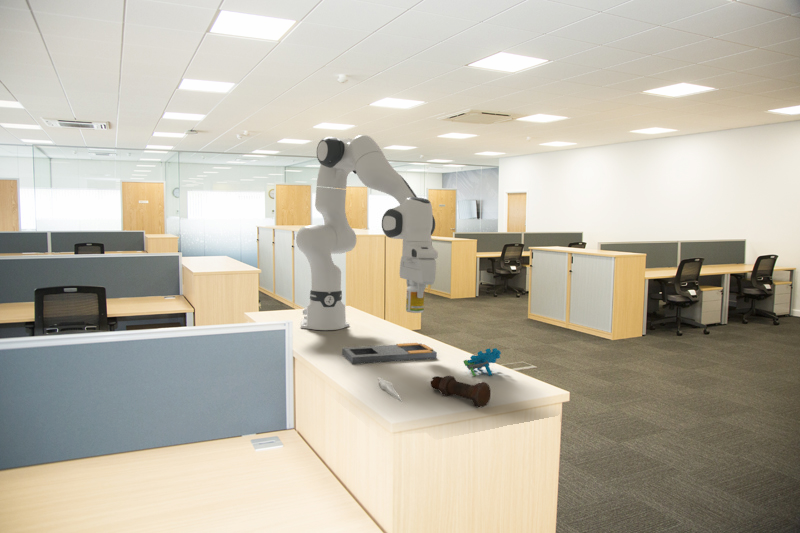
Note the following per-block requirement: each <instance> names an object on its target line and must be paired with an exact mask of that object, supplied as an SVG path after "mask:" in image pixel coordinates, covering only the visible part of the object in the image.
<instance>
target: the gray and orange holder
mask: <svg viewBox="0 0 800 533" xmlns="http://www.w3.org/2000/svg"><path fill="white" fill-rule="evenodd" d="M341 350H342V351H341V355H342V356H343V357H344V358H346V360H347V361H349V362H350V364H352V365H361V364H377V363H379V364H380V363H391V362H392V363H394V362H396V363H397V362H408V361H409V362H411V361H422V360H424V361H425V360H436V359H437V358H438V357H437V356H438V354H437V351H435V350H434V349H433V348H432V347H430V346H428V345H426V344H423V343H418V342H407V343H396V344H389V345H388V344H387V345H370V346H369V345H368V346H366V345H365V346H350V347H349V346H348V347H342V349H341Z"/></svg>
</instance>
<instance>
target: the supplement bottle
mask: <svg viewBox="0 0 800 533" xmlns="http://www.w3.org/2000/svg"><path fill="white" fill-rule="evenodd" d="M409 285H410V286H409V287H408V288H407V287H406V300H405V301H406V303H405V311H406V312H407V313H413V314H420V313H423V312H424V311H425V310H424V308H425V306H424V304H425V303H424V302H425V292H424V293H423V298H417V297H416V292H417V290H418V286H417V283H416V282H413V281H412V280H409Z"/></svg>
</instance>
